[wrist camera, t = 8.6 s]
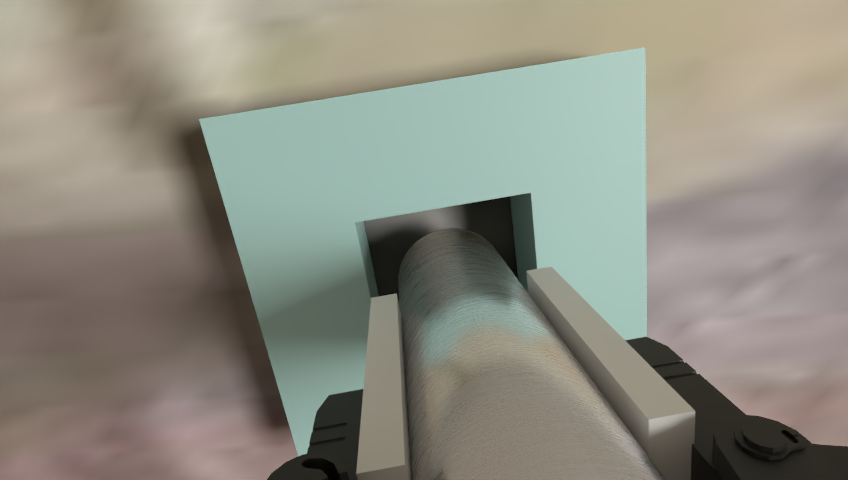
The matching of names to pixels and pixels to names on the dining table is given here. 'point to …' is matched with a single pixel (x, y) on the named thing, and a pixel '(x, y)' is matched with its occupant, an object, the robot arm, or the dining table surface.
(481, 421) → the pin
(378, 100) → the dock
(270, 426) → the dining table surface
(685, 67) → the dining table surface
